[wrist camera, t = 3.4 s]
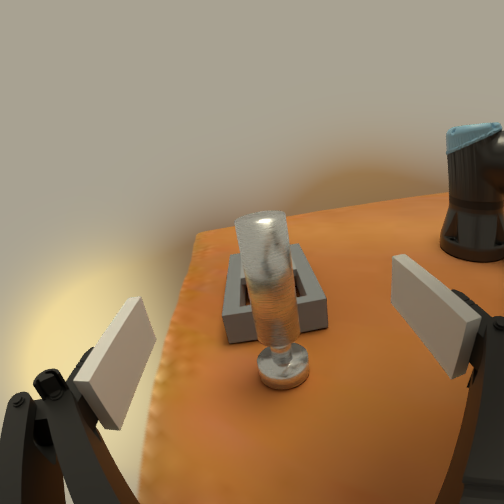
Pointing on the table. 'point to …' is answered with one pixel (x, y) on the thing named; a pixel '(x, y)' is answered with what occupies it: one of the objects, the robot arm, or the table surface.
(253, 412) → the table surface
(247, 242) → the steel peg
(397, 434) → the table surface
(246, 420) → the table surface
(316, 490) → the table surface
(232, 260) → the keyhole plate
